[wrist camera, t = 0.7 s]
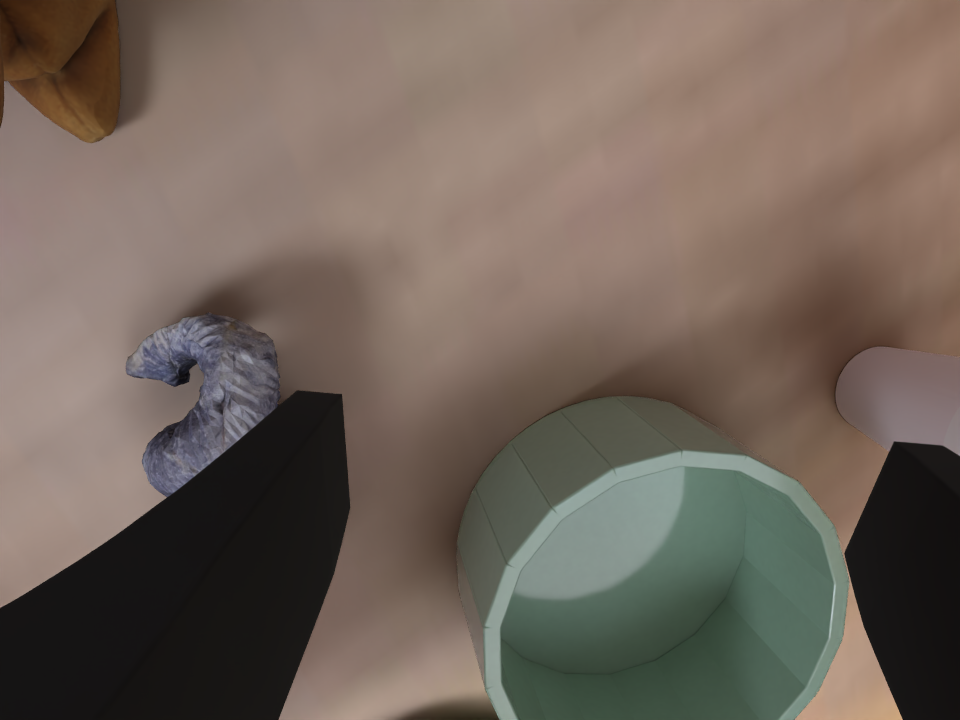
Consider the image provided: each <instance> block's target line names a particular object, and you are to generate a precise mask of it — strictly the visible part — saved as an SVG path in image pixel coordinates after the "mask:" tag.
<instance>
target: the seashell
mask: <svg viewBox="0 0 960 720" xmlns="http://www.w3.org/2000/svg"><path fill="white" fill-rule="evenodd" d="M197 363H198V365H199V367H200V369H201V371H202V372H203V373H204V383H203V385H202V386H201V387H200V390H199V392H201V393H200V397H199V401H198V402H197V403H196V405H195V407H194V408H193V409H192V410H190V411H189V413H188V415H187V416H186V417H185V418H184V419H183V420H182V421H180V422H177V423H174V424H171V425H169V426H167V427H166V428H164V429H163V431H161V432H159V433H158V434H157V435H156V436H155V437H154V438H153V439H152V440H151V441H150V442H149V443H148V445H147V448H146V451H145V453H144V454H143V459H142V464H143V467H144V470H145V472H146V474H147V477H148V480H149V482H150V484H151V485H152V486H153V487H154V488H155V489H156V490H158V491H159V492H160V493H162V494H163V495H165V496H166V497H168V496H170V495H171V494H173V493H174V492H175V491H177V490H178V489H179V488H180V487H182V486H183V485H184V484H186V483H187V482H188V481H189V480H190V479H192V478H193V477H194V476H195V475H197V474H198V473H199V472H200V471H202V470H203V469H204V468H205V467H206V466H208V465H209V464H210V463H211V462H213V461H214V460H215V459H216V458H218V457H219V456H220V455H221V454H222V453H224V452H225V451H226V450H227V449H228V448H230V447H231V446H232V445H233V444H234V443H236V442H237V441H238V440H239V439H240V438H241V437H243V436H244V435H245V434H246V433H247V432H249V431H250V430H251V429H252V428H253V427H254V426H256V425H257V424H258V423H259V422H260V421H261V420H263V419H264V418H265V417H266V416H267V415H268V414H270V413H271V412H272V411H273V410H274V409H276V408H277V407H278V404H277V401H278V400H279V399H280V398H281V396H280V391H279V387H280V383H279V378H280V375H279V372H278V363H277V354H276V350H275V346H274V343H273V340H272V339H271V338H269V337H268V336H267V335H266V334H265V333H262V332H258V331H256V330H255V329H253V328H252V327H251V326H249V325H248V324H246V323H244V322H241V321H239V320H237V319H234V318H231V317H228V316H220V315H213V314H211V313H209V312H208V313H206V314H205V315H200V316H192V317H186V318H182V319H181V321H180V322H178V323H176V324H173V325H171V326H167V327H164V328H161V329H159V330H157V331H156V332H155V333H154V334H152V335H150V336H148V337H147V338H146V339H145V340H144V341H143V342H142V343H141V344H140V345H139V347H138V349H137V351H136V352H135V353H133V354H132V355H131V356H129V357H128V359H127V362H126V372H127V374H128V375H130V376H132V377H136V378H149V379H156V380H161V381H163V382H165V383H167V384H169V385H171V386H174V387H175V386H178V385H180V384H185V383H187V382H189V379H190V373H189V370H190V369H191V368H192V367H193V366H194V365H195V364H197Z"/></svg>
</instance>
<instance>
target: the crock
mask: <svg viewBox="0 0 960 720" xmlns="http://www.w3.org/2000/svg"><path fill="white" fill-rule="evenodd" d="M457 540H458V541H457V548H456V555H457V573H458V588H459V595H460V598H461V602H462V606H463V609H464V613H465V617H466V621H467V624H468V628H469V632H470V635H471V639H472V643H473V646H474V650H475V654H476V657H477V661H478V665H479V669H480V672H481V676H482V680H483V683H484V687H485V690H486V692H487V695H488V697H489V699H490V701H491V703H492V705H493V707H494V709H495V712H496V714H497V716H498V718H499V720H795V718H796V717H797V716H798V715H799V714H800V713H801V711H802V710H803V709H804V708H805V707H806V706H807V705H808V703H809V702H810V701H811V700H812V699H813V698H814V697H815V695H816V694H817V692H818V691H819V689H820V687H821V685H822V683H823V680H824V678H825V676H826V674H827V672H828V670H829V667H830V665H831V663H832V661H833V659H834V657H835V654H836V652H837V650H838V648H839V646H840V644H841V641H842V637H843V634H844V625H845V616H846V607H847V598H848V589H849V577H848V573H847V569H846V566H845V562H844V558H843V555H842V551H841V547H840V543H839V540H838V536H837V532H836V528H835V527H834V524H833V523H832V522H831V520H830V519H829V518H828V517H827V515H826V514H825V513H824V512H823V510H822V509H821V508H820V507H819V505H818V504H817V503H816V502H815V500H814V499H813V498H812V497H811V495H810V494H809V493H808V492H807V490H806V489H805V488H804V487H803V486H802V484H801V483H800V482H799V481H798V480H796V479H795V478H793V477H791V476H790V475H788V474H787V473H785V472H784V471H782V470H781V469H779V468H778V467H776V466H775V465H773V464H772V463H770V462H769V461H767V460H766V459H764V458H763V457H761V456H760V455H758V454H757V453H755V452H754V451H752V450H751V449H749V448H748V447H746V446H745V445H743V444H742V443H740V442H739V441H737V440H736V439H734V438H733V437H731V436H730V435H728V434H727V433H725V432H724V431H722V430H721V429H719V428H718V427H716V426H715V425H713V424H711V423H709V422H707V421H705V420H703V419H702V418H700V417H698V416H696V415H694V414H692V413H690V412H689V411H687V410H685V409H683V408H681V407H678V406H676V405H675V404H673V403H669V402H665V401H660V400H655V399H651V398H646V397H634V396H615V397H603V398H598V399H592V400H587V401H583V402H580V403H577V404H574V405H571V406H568V407H565V408H563V409H560V410H558V411H556V412H554V413H552V414H550V415H547V416H545V417H544V418H542V419H541V420H539V421H537V422H536V423H534V424H532V425H531V426H529V427H528V428H526V429H525V430H524V431H523V432H521V433H520V434H519V435H518V436H516V437H515V438H514V439H513V440H511V441H510V442H509V443H508V444H507V445H506V446H505V447H504V448H503V449H502V450H501V451H500V452H499V453H498V454H497V456H496V457H495V458H494V459H493V461H492V462H491V463H490V464H489V466H488V467H487V468H486V470H485V471H484V472H483V474H482V475H481V477H480V479H479V481H478V482H477V484H476V486H475V487H474V489H473V491H472V493H471V495H470V498H469V500H468V503H467V505H466V507H465V510H464V513H463V517H462V520H461V524H460V528H459V533H458V539H457Z"/></svg>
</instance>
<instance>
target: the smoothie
mask: <svg viewBox="0 0 960 720" xmlns="http://www.w3.org/2000/svg"><path fill="white" fill-rule="evenodd" d="M835 397H836V404H837V408H838V410H839V412H840V414H841V416H842V417H843V418H844V419H845V420H846V421H847V422H848V423H850V424H851V425H852V426H854V427H855V428H857V429H858V430H859V431H861V432H862V433H864V434H865V435H866V436H868V437H869V438H871V439H872V440H873V441H875V442H876V443H878V444H879V445H881V446H882V447H883V448H885V449H886V450H888V451H890V449H891V447H892V445H893V442H894V441H897V442H909V443H920V444H932V445H943V446H945V447H946V448H948V449H950V450H951V451H953V452H954V453H956V454H958V455H959V456H960V357H957V356H949V355H942V354H935V353H928V352H920V351H913V350H906V349H898V348H891V347H882V346H880V347H873V348H869V349H866V350H864V351H862V352H860V353H859V354H857V355H856V356H855V357H854V358H852V359H851V360H850V361H849V362H848V364H847V365H846V366H845V368H844V369H843V371H842V372H841V374H840V376H839V379H838V382H837V386H836V393H835Z"/></svg>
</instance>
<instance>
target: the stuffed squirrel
mask: <svg viewBox="0 0 960 720" xmlns="http://www.w3.org/2000/svg"><path fill="white" fill-rule="evenodd" d="M4 81H8V82H9V83H10V84H11V85H12V86H13V87H14V88H15V89H16V90H17V91H18V92H19V93H20V94H21V95H22V96H24V97H25V98H26V100H27V101H28V102H30V103H31V104H32V105H33V106H34V107H35V108H37V109H38V110H39V111H40V112H41V113H42V114H43V115H44V116H46V117H47V118H49V119H50V120H51V121H52V122H54V123H55V124H57V125H58V126H60V127H61V128H63V129H65V130H66V131H68V132H70V133H71V134H73V135H75V136H76V137H78V138H79V139H81V140H83V141H85V142H88V143H94V142H97V141H100V140H102V139H103V138H104V137H105V136H109V135H110V134H112V133H113V131H114V129H115V127H116V124H117V118H118V113H119V106H120V48H119V34H118V17H117V11H116V3H115V0H0V126H1V123H2V118H3V106H4Z"/></svg>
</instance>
